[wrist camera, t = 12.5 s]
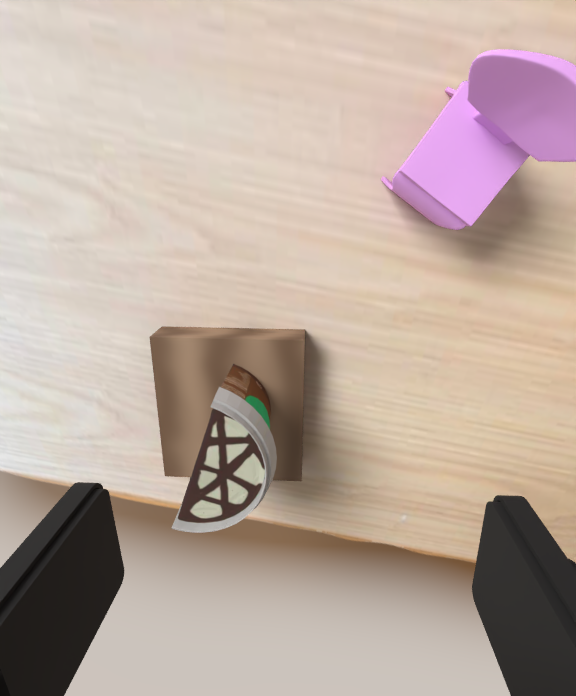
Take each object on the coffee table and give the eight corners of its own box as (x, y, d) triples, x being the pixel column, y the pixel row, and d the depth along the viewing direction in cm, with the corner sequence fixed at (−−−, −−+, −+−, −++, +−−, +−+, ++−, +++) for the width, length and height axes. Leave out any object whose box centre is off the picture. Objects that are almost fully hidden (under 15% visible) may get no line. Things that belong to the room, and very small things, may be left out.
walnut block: (305, 327, 40) (304, 340, 36) (301, 457, 45) (301, 481, 42) (164, 324, 41) (149, 337, 37) (176, 453, 46) (164, 476, 42)
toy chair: (367, 177, 35) (408, 161, 21) (437, 78, 32) (538, -18, 18) (441, 235, 36) (527, 257, 22) (515, 144, 34) (665, 103, 19)
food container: (260, 476, 41) (245, 557, 32) (202, 457, 41) (169, 533, 32) (301, 371, 37) (298, 428, 28) (237, 349, 37) (212, 399, 28)
